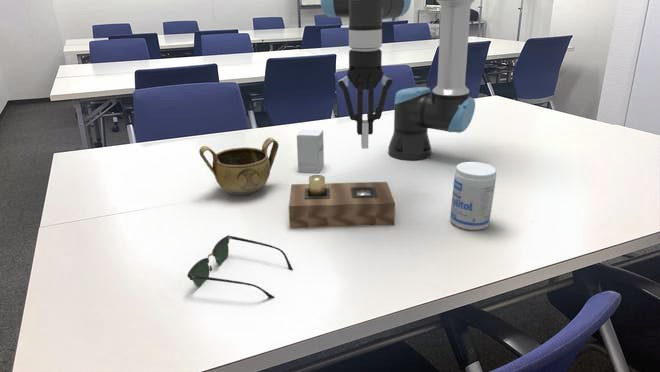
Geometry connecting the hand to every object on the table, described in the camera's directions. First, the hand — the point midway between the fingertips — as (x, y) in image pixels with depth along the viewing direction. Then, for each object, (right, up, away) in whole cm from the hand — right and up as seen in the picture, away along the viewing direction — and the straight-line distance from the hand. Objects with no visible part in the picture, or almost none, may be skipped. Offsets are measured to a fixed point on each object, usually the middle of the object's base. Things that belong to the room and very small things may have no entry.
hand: (364, 146), depth 118 cm
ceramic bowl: (-34, -11, +23) cm, 43 cm away
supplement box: (-15, -4, +39) cm, 42 cm away
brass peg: (-12, -13, +5) cm, 18 cm away
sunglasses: (-26, -29, -20) cm, 44 cm away
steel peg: (0, -17, +7) cm, 18 cm away
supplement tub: (+26, -19, +1) cm, 33 cm away
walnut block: (-6, -17, +7) cm, 19 cm away
